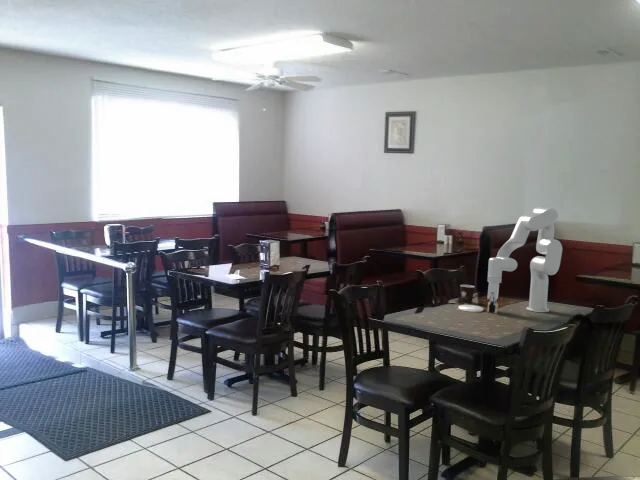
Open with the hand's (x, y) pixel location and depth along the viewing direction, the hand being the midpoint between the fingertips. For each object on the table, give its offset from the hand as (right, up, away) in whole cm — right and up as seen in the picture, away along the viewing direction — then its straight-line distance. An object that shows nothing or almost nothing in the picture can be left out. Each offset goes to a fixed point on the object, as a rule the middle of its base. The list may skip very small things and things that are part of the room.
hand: (492, 310), depth 330 cm
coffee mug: (-8, +2, +24) cm, 26 cm away
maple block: (0, -1, 0) cm, 1 cm away
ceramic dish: (-11, 0, +4) cm, 12 cm away
